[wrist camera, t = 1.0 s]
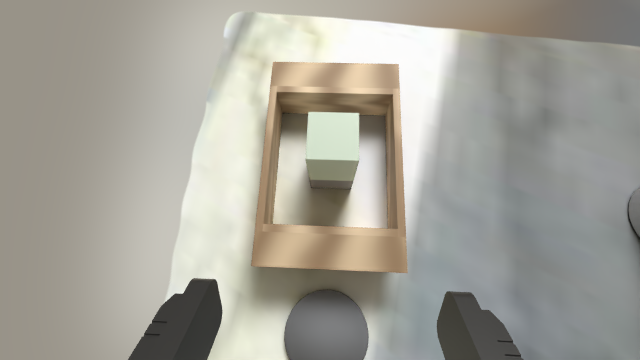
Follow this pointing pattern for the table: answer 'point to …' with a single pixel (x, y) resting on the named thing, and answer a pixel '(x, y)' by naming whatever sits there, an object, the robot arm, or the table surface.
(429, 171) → the table surface
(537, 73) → the table surface
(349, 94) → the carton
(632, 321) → the table surface
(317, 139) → the box
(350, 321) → the slate mat
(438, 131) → the table surface
